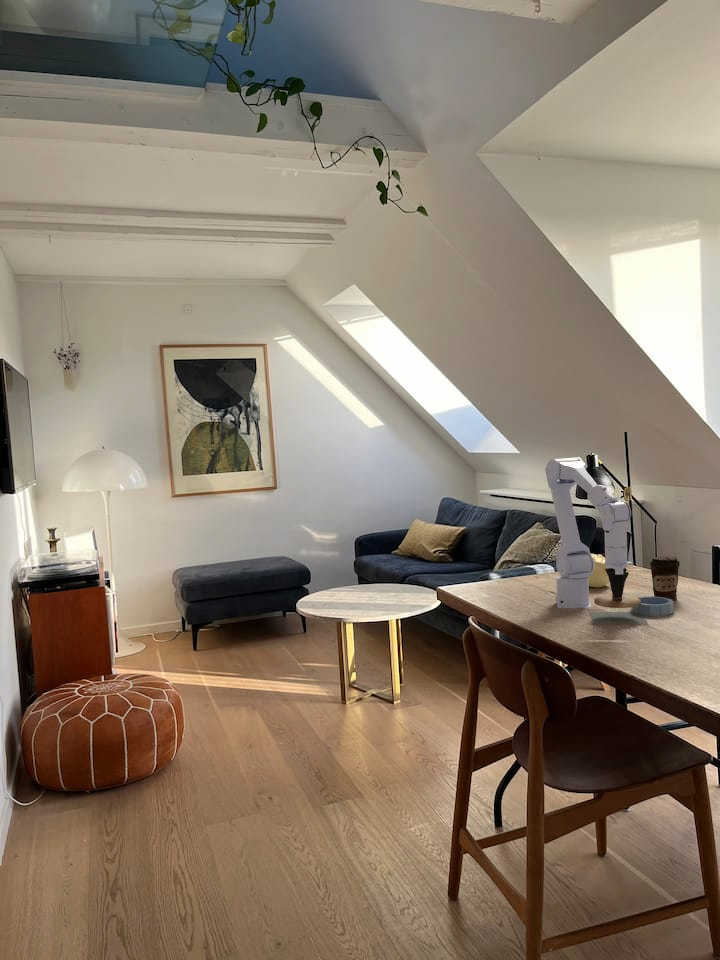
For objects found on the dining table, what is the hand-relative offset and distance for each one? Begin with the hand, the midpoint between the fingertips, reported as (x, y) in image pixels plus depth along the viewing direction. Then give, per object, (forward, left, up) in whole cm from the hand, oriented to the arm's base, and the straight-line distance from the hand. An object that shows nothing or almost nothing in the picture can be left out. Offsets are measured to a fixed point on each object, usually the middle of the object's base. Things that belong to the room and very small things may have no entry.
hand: (617, 595), depth 209 cm
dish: (+10, +8, -7) cm, 14 cm away
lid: (0, 0, -2) cm, 2 cm away
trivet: (0, 0, -7) cm, 7 cm away
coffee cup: (+16, +23, -7) cm, 29 cm away
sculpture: (-3, +45, -7) cm, 46 cm away
